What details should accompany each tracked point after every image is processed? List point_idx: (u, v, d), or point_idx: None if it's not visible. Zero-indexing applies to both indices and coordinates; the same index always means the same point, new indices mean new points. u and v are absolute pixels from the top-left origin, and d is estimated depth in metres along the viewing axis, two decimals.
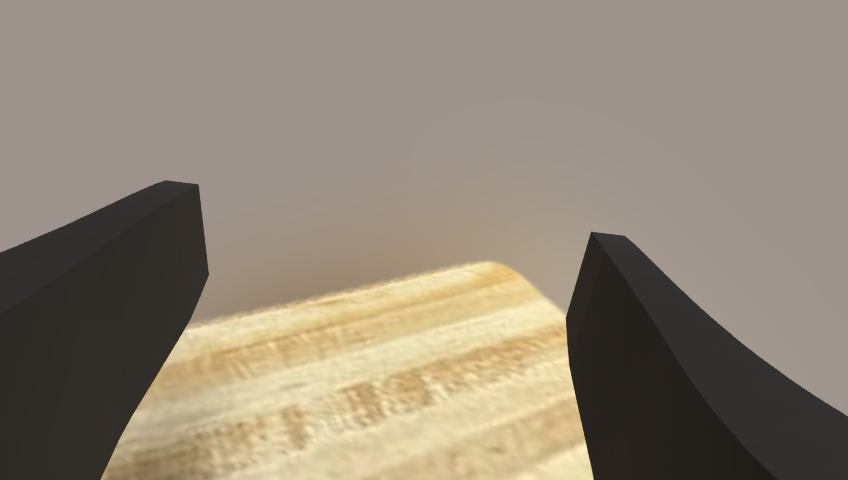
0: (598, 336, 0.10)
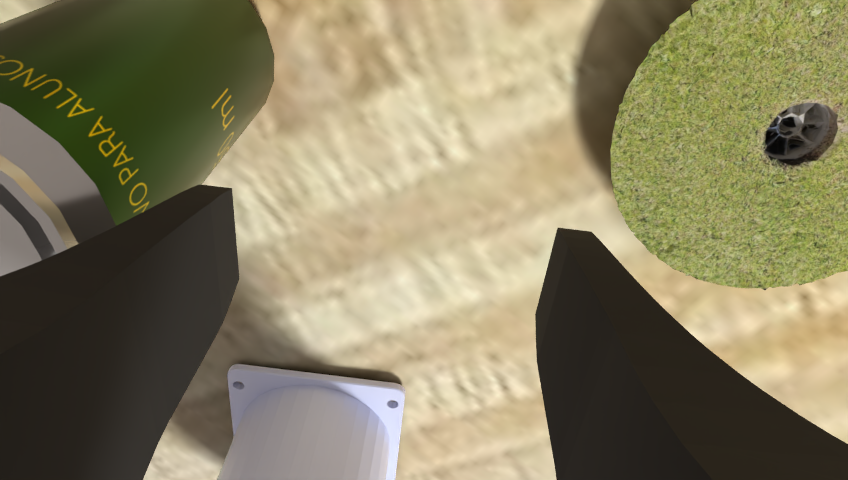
0: (561, 331, 0.10)
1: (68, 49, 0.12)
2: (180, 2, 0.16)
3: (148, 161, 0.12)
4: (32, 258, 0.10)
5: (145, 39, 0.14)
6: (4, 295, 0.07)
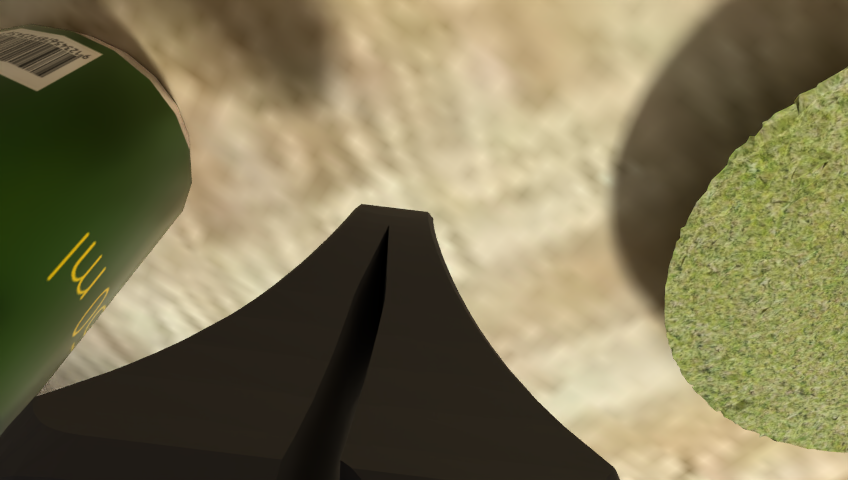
0: None
1: None
2: (10, 101, 0.10)
3: None
4: None
5: None
6: (263, 327, 0.07)
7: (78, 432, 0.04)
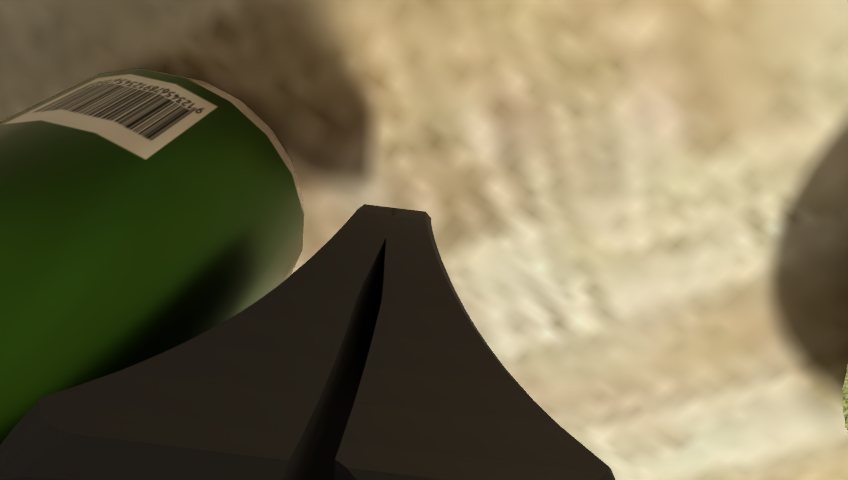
0: (380, 309, 0.10)
1: None
2: (115, 174, 0.08)
3: None
4: None
5: None
6: (267, 327, 0.07)
7: (85, 433, 0.04)
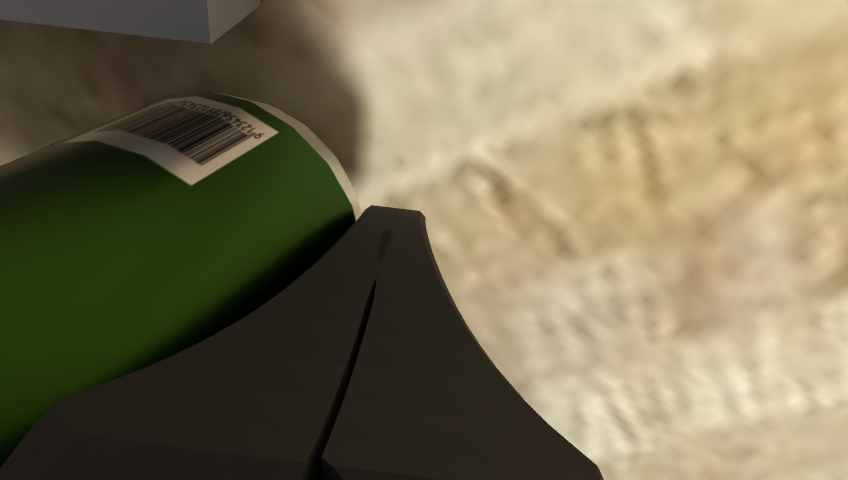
0: None
1: None
2: (156, 200, 0.08)
3: None
4: None
5: None
6: (279, 329, 0.07)
7: (103, 435, 0.04)
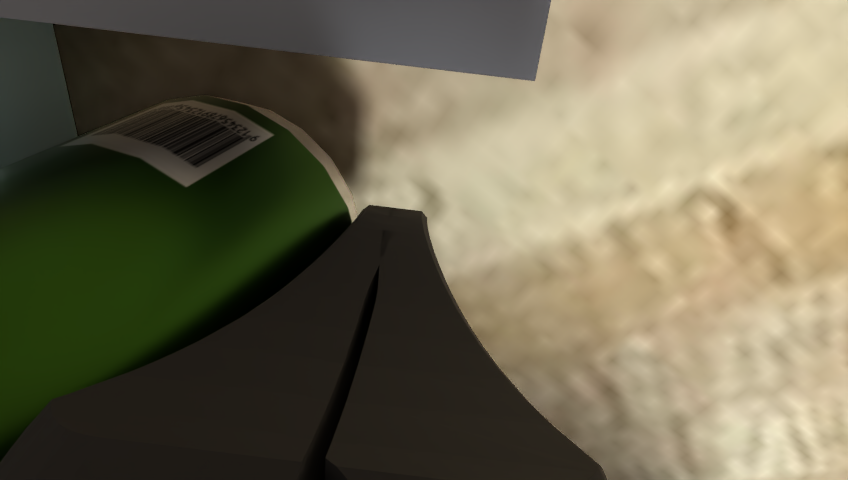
0: None
1: None
2: (151, 201, 0.08)
3: None
4: None
5: None
6: (275, 328, 0.07)
7: (97, 435, 0.04)
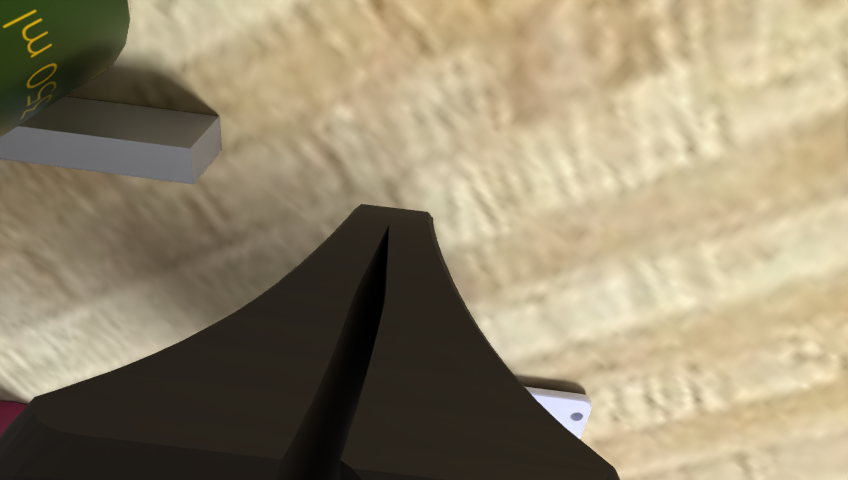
0: None
1: None
2: None
3: None
4: None
5: None
6: (263, 327, 0.07)
7: (78, 432, 0.04)
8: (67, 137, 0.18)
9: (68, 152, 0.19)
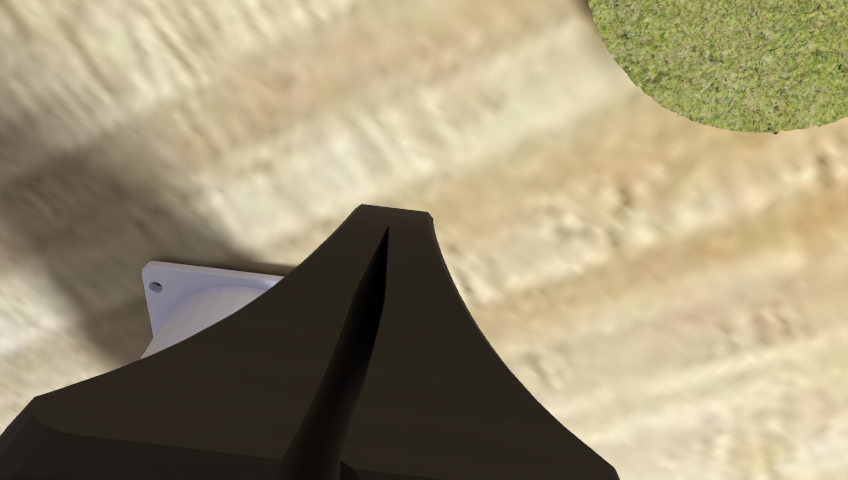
0: None
1: None
2: None
3: None
4: None
5: None
6: (263, 327, 0.07)
7: (78, 432, 0.04)
8: None
9: None
